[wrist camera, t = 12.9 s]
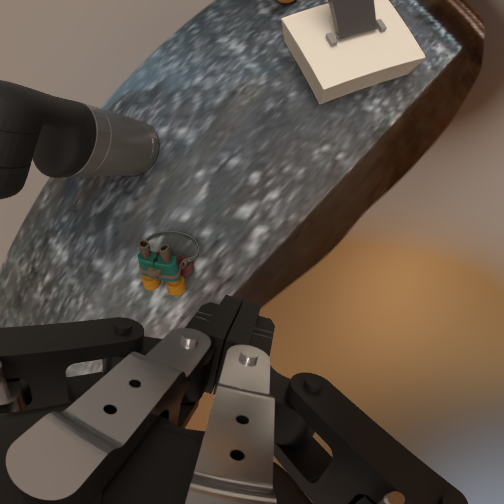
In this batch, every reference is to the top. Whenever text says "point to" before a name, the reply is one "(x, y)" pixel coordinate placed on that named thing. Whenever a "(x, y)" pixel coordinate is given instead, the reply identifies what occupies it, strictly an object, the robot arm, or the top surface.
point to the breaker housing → (349, 51)
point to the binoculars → (165, 265)
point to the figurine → (286, 1)
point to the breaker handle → (352, 17)
